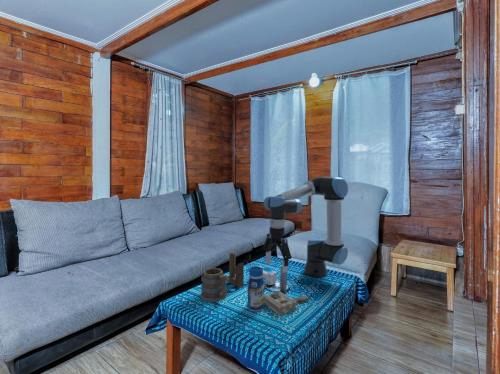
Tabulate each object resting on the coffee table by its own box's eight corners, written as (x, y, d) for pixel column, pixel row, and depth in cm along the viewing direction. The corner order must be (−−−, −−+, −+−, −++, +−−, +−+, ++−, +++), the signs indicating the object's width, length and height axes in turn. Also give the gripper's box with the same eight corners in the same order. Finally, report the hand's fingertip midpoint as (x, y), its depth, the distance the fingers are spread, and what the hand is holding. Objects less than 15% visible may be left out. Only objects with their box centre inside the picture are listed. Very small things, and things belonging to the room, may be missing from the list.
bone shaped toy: (251, 280, 171) (250, 268, 170) (261, 275, 177) (260, 263, 176) (268, 288, 160) (268, 275, 159) (278, 283, 166) (278, 270, 165)
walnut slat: (304, 299, 147) (304, 295, 147) (308, 301, 144) (308, 298, 144) (290, 302, 143) (290, 299, 143) (293, 305, 140) (293, 301, 140)
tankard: (196, 295, 149) (196, 268, 148) (216, 289, 157) (216, 263, 156) (216, 310, 133) (216, 280, 132) (237, 302, 141) (237, 274, 140)
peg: (283, 290, 155) (284, 266, 155) (287, 293, 152) (288, 268, 152) (278, 292, 154) (279, 268, 153) (282, 294, 150) (283, 270, 150)
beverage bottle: (254, 301, 142) (254, 264, 141) (267, 307, 137) (267, 268, 136) (243, 308, 136) (244, 268, 134) (256, 314, 130) (257, 273, 129)
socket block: (278, 297, 147) (279, 291, 147) (296, 308, 136) (296, 301, 136) (262, 302, 142) (262, 296, 141) (279, 314, 130) (279, 307, 130)
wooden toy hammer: (238, 287, 159) (239, 257, 157) (227, 282, 167) (228, 253, 166) (243, 286, 161) (244, 256, 160) (232, 280, 169) (232, 252, 168)
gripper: (257, 223, 147) (256, 261, 148) (287, 232, 126) (286, 277, 127) (268, 221, 151) (267, 259, 152) (299, 230, 130) (298, 274, 131)
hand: (276, 267), depth 140 cm, fingers open, 13 cm apart
